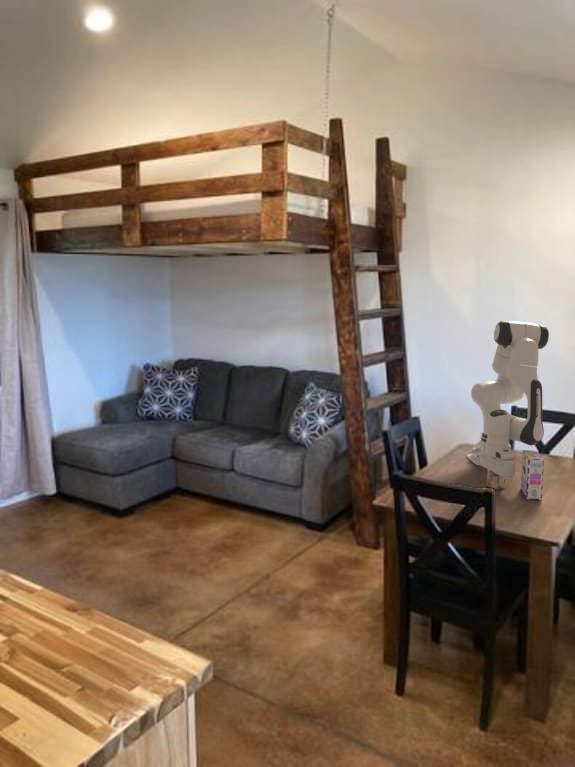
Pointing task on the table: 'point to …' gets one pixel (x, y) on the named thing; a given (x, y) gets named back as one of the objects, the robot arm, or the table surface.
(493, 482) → the maple cube
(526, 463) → the candy box
